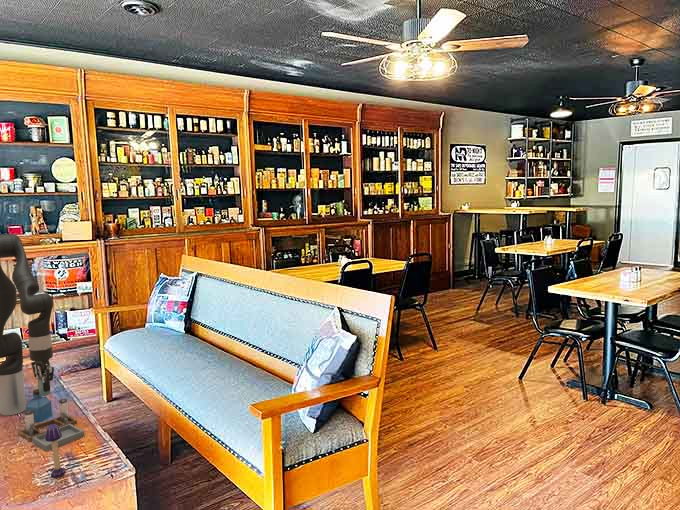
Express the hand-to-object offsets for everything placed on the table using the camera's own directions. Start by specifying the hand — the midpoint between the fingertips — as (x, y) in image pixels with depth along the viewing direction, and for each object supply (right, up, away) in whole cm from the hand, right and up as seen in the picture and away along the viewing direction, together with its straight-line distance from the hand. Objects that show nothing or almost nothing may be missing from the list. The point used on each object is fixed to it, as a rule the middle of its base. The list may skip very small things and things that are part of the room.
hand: (44, 389), depth 195 cm
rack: (0, -16, +2) cm, 16 cm away
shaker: (0, -2, 0) cm, 2 cm away
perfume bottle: (-9, -15, +12) cm, 21 cm away
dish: (+9, -17, -6) cm, 20 cm away
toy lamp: (+21, -20, -30) cm, 42 cm away
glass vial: (-3, -17, -3) cm, 17 cm away
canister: (+4, -15, +7) cm, 17 cm away
